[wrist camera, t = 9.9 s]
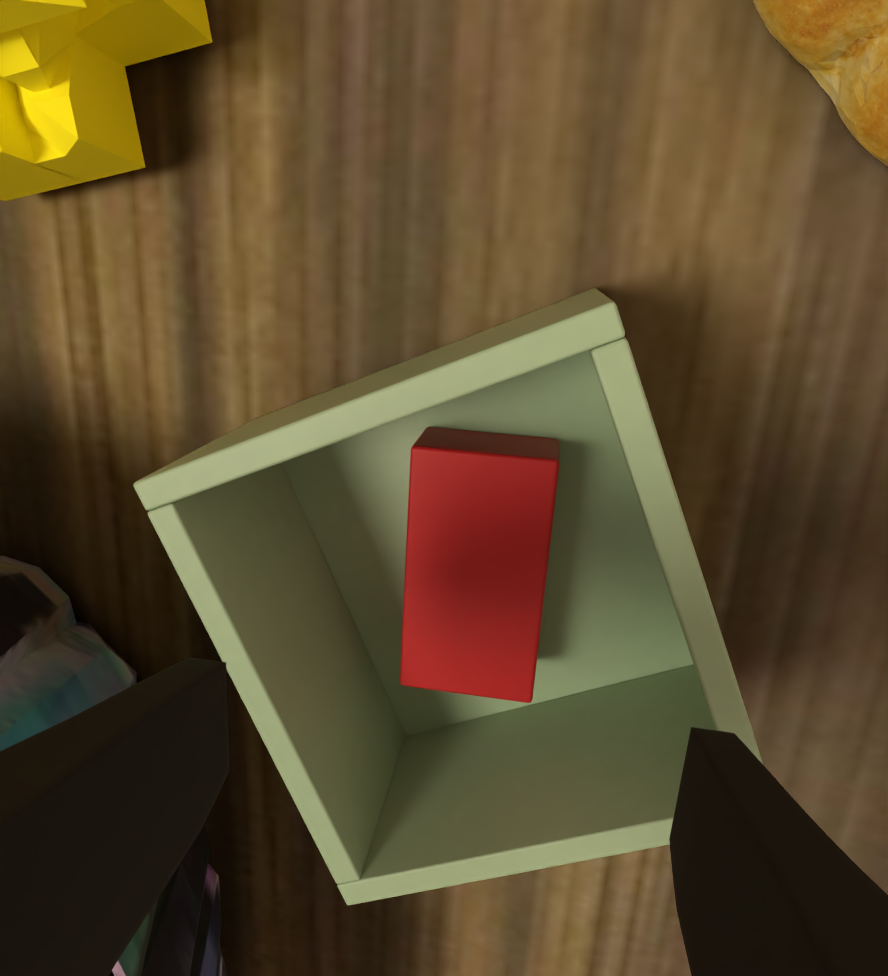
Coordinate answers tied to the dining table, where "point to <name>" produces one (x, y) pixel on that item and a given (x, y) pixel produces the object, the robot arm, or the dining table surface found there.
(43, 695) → the decorative bowl
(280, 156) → the dining table surface
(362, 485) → the green open box
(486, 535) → the red rectangular block
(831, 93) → the bread roll
